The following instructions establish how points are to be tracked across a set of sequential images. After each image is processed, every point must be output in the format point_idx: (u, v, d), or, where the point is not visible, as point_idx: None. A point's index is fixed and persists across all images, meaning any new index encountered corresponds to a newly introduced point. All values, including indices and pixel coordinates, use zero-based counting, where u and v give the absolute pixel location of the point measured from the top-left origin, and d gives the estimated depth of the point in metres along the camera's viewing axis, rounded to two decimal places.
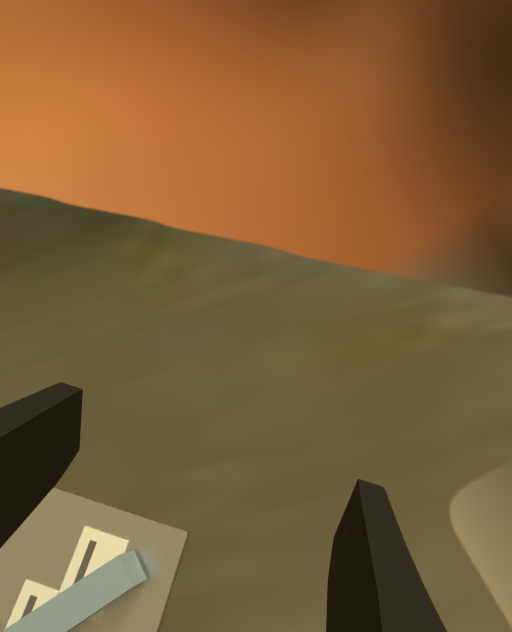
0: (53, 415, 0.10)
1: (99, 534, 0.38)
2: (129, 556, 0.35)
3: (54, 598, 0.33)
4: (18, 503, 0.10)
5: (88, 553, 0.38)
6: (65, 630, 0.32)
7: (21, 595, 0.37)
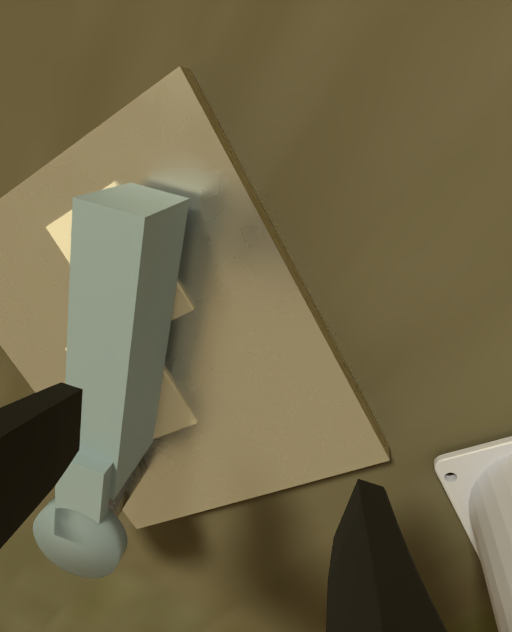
0: (53, 415, 0.10)
1: None
2: (118, 190, 0.16)
3: (69, 342, 0.16)
4: (17, 503, 0.10)
5: None
6: (126, 362, 0.16)
7: None
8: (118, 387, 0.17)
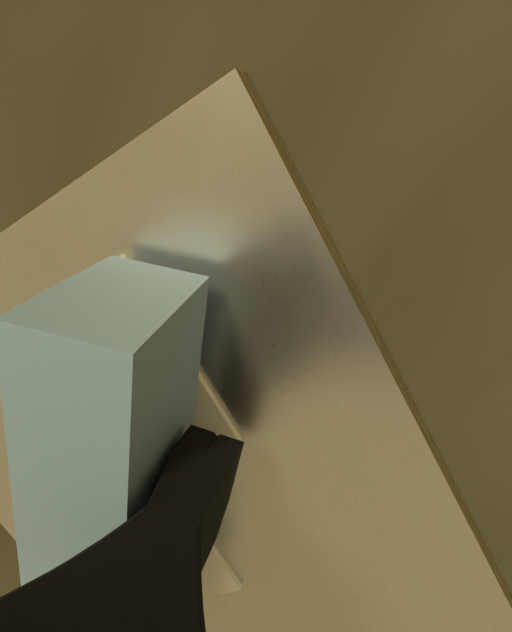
0: (230, 475, 0.10)
1: None
2: (87, 280, 0.09)
3: (21, 544, 0.09)
4: None
5: None
6: None
7: None
8: None
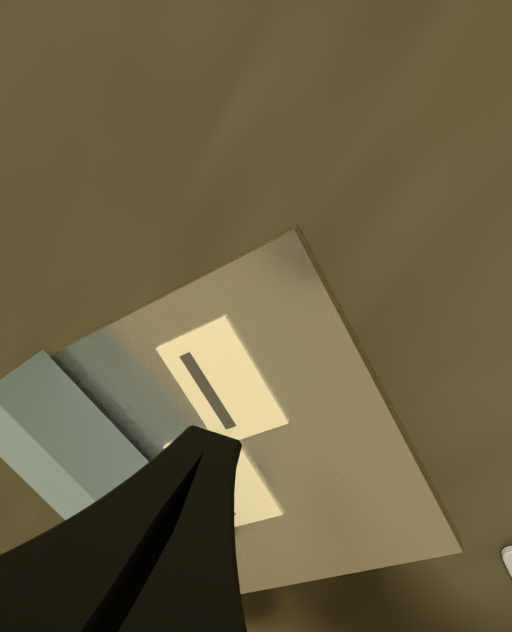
0: (199, 464, 0.10)
1: (182, 341, 0.21)
2: None
3: (42, 495, 0.21)
4: None
5: (195, 371, 0.22)
6: (71, 477, 0.20)
7: None
8: (86, 498, 0.20)
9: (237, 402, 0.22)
